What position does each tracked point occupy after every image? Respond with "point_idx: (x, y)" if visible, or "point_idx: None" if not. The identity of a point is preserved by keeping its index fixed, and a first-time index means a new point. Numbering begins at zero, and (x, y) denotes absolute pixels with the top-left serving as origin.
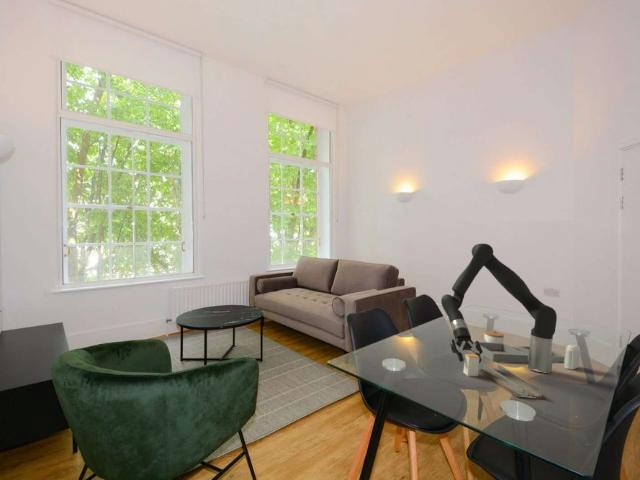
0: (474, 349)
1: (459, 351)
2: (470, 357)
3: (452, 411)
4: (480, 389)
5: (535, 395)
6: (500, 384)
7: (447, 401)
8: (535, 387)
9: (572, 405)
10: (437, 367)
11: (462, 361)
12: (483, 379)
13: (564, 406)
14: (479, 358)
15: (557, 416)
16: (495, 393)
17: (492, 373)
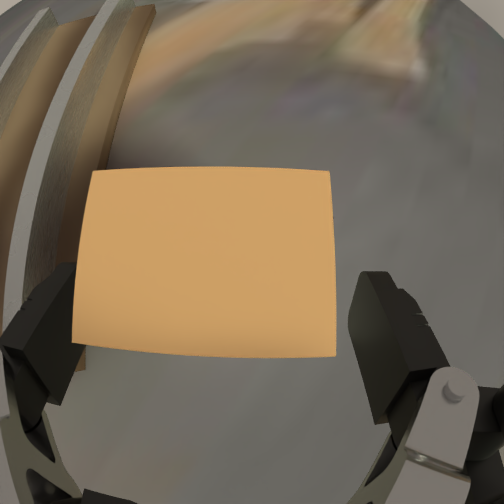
0: (7, 425)
1: (460, 378)
2: (296, 179)
3: (463, 8)
4: (310, 59)
5: (65, 26)
6: (119, 97)
7: (476, 36)
8: (37, 22)
9: (6, 34)
10: None
11: (359, 297)
12: None
13: None
14: (54, 284)
15: None
16: (243, 29)
17: (51, 214)
